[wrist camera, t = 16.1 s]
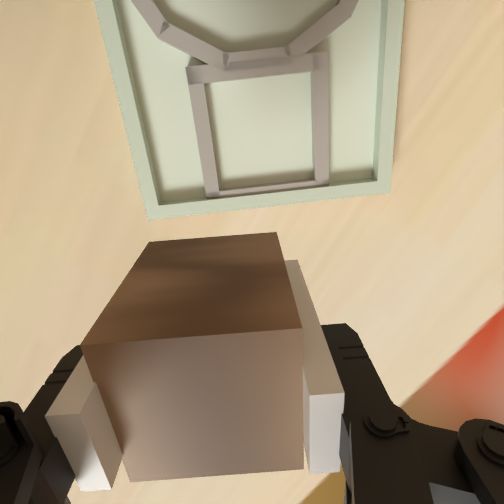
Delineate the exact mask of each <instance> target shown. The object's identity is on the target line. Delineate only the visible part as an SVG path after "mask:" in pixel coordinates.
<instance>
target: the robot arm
mask: <svg viewBox="0 0 504 504" xmlns="http://www.w3.org/2000/svg"><path fill="white" fill-rule="evenodd" d="M284 262H285V266H286V269H287V273H288V277H289V280H290V284H291V288H292V291H293V295H294V299H295V302H296V306H297V310H298V313H299V317H300V321H301V324H302V328H303V441H304V446H305V452H306V457H307V463H308V468H309V474H318V473H331V472H340V460H341V463H342V467H343V471H344V474H345V478H346V483H345V497H344V504H504V425H502V424H499V423H496V422H494V421H491V420H484V419H473V420H469V421H466V422H465V423H464V424H463V425H462V426H461V427H460V428H459V431H458V432H456V431H452V430H447V429H443V428H438V427H432V426H429V425H425V424H422V423H419V422H417V421H415V420H413V419H411V418H410V417H409V416H408V415H407V414H406V413H405V412H404V411H403V410H402V409H401V408H400V407H398V406H396V405H395V404H393V402H392V401H391V399H390V398H389V396H388V394H387V392H386V390H385V388H384V386H383V384H382V382H381V380H380V378H379V376H378V374H377V372H376V370H375V368H374V366H373V364H372V362H371V360H370V358H369V356H368V354H367V352H366V350H365V348H364V347H363V344H362V342H361V340H360V338H359V336H358V334H357V333H356V332H355V331H354V330H353V329H352V328H350V327H349V326H348V325H347V324H346V323H343V324H331V325H320V322H319V319H318V317H317V314H316V311H315V308H314V305H313V302H312V300H311V297H310V294H309V291H308V288H307V286H306V283H305V280H304V277H303V274H302V272H301V269H300V266H299V263H298V260H288V261H284ZM122 457H123V454H122V452H121V449H120V446H119V443H118V441H117V438H116V435H115V433H114V430H113V427H112V424H111V422H110V419H109V416H108V414H107V411H106V408H105V405H104V403H103V400H102V397H101V395H100V392H99V389H98V387H97V384H96V382H93V379H92V377H91V374H90V371H89V369H88V366H87V363H86V361H85V358H84V355H83V352H82V350H81V347H80V345H77V346H76V347H74V348H73V349H72V350H71V351H70V352H68V353H67V354H66V355H65V356H64V357H62V359H61V360H60V361H59V363H58V364H57V366H56V367H55V369H54V370H53V373H52V374H50V376H49V377H48V378H47V380H46V381H45V385H43V386H42V387H41V388H40V390H39V391H38V393H37V394H36V396H35V397H34V398H33V400H32V401H31V403H30V404H29V405H28V407H27V408H26V410H25V411H24V413H23V411H22V409H21V407H20V406H19V404H18V403H14V402H11V401H8V402H0V504H71V502H70V500H69V499H68V497H67V494H68V492H69V490H70V488H71V485H72V483H73V481H74V479H76V481H77V483H78V485H79V488H80V490H81V492H84V491H97V490H110V489H112V487H113V484H114V481H115V478H116V475H117V472H118V469H119V466H120V463H121V460H122Z"/></svg>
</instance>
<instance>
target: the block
mask: <svg viewBox="0 0 504 504" xmlns="http://www.w3.org/2000/svg"><path fill="white" fill-rule="evenodd" d="M80 347H81V350H82V352H83V355H84V358H85V361H86V363H87V366H88V369H89V371H90V374H91V377H92V379H93V382H96V384H97V387H98V389H99V392H100V395H101V397H102V400H103V403H104V405H105V408H106V411H107V414H108V416H109V419H110V422H111V424H112V427H113V430H114V433H115V435H116V438H117V441H118V443H119V446H120V449H121V452H122V454H123V457H122V461H123V463H124V466H125V469H126V472H127V474H128V477H129V480H130V482H139V481H152V480H166V479H179V478H192V477H206V476H219V475H233V474H246V473H259V472H273V471H286V470H299V469H304V443H303V328H302V324H301V321H300V317H299V313H298V310H297V306H296V302H295V299H294V295H293V291H292V288H291V284H290V280H289V277H288V273H287V269H286V266H285V262H284V258H283V254H282V251H281V247H280V243H279V240H278V236H277V232H271V233H258V234H245V235H232V236H219V237H207V238H194V239H181V240H168V241H155V242H149V243H148V244H147V246H146V247H145V249H144V250H143V252H142V253H141V255H140V256H139V258H138V259H137V261H136V262H135V264H134V265H133V267H132V268H131V270H130V271H129V273H128V274H127V276H126V277H125V279H124V280H123V282H122V283H121V285H120V286H119V288H118V289H117V291H116V292H115V294H114V295H113V297H112V298H111V300H110V301H109V303H108V304H107V306H106V307H105V309H104V310H103V312H102V313H101V314H100V316H99V317H98V319H97V320H96V322H95V323H94V325H93V326H92V328H91V329H90V331H89V332H88V334H87V335H86V337H85V338H84V340H83V341H82V343H81V344H80Z"/></svg>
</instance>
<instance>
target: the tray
mask: <svg viewBox="0 0 504 504" xmlns="http://www.w3.org/2000/svg"><path fill="white" fill-rule="evenodd" d="M94 3H95V7H96V11H97V15H98V19H99V23H100V27H101V31H102V35H103V40H104V44H105V48H106V52H107V56H108V60H109V64H110V68H111V72H112V76H113V80H114V84H115V88H116V92H117V97H118V101H119V105H120V109H121V113H122V117H123V121H124V125H125V129H126V133H127V137H128V141H129V145H130V150H131V154H132V158H133V162H134V166H135V170H136V174H137V178H138V182H139V186H140V190H141V194H142V198H143V202H144V207H145V211H146V215H147V219H148V220H156V219H165V218H174V217H183V216H192V215H200V214H209V213H218V212H227V211H236V210H245V209H253V208H262V207H271V206H280V205H289V204H298V203H307V202H315V201H324V200H333V199H342V198H351V197H360V196H369V195H377V194H386V193H390V187H391V174H392V161H393V148H394V135H395V122H396V109H397V95H398V82H399V69H400V56H401V43H402V30H403V17H404V3H405V0H94Z"/></svg>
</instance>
